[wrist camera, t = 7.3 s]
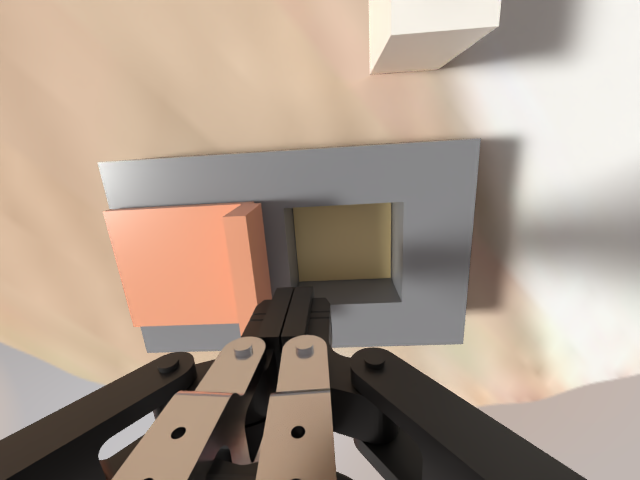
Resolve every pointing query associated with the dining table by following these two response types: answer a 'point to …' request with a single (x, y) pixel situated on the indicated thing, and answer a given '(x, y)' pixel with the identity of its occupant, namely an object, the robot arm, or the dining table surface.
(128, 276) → the shutter
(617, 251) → the dining table surface
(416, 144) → the socket block
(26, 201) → the dining table surface
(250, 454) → the robot arm
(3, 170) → the dining table surface
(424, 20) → the plug
